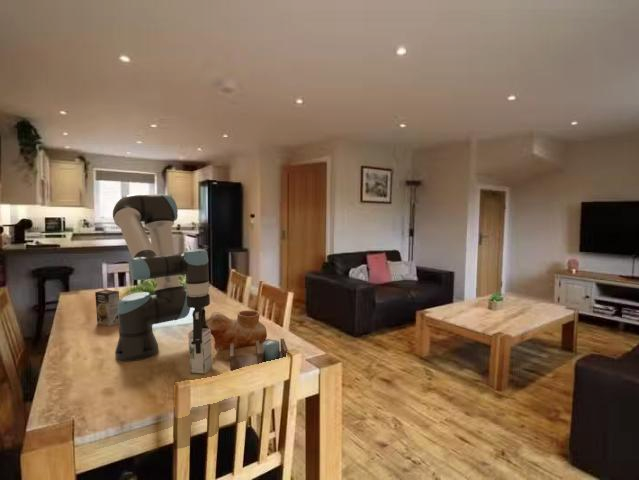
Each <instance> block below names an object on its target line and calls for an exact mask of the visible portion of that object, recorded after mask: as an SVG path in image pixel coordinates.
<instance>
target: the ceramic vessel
mask: <svg viewBox="0 0 639 480" xmlns="http://www.w3.org/2000/svg"><path fill="white" fill-rule="evenodd" d="M236 315H237V318H235V319H232V318H229V317H228V316H226V315H225V314H223V313H222V312H220V311H213V312H212V313H211V314H210V316H209V317H208V318H205V319H206V325H208V328H206V329H211V336H213V339H214V340H213V341H214V344H213V345H214V350H215V351H218V350H220V351H224V350H230V343H234V350H235V349H239V348H244V347H253V346H256V341H259V344H261V343H263V342H265V341H266V339H267V337H268V333H267V332H268V331H267V327H265V325H264V324H263V323H262V322H260V320H259V319H260V315H261V314H260V311H257V310H248V309H247V310H246V309H245V310H241V311H238V312H237V314H236Z"/></svg>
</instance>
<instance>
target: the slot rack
mask: <svg viewBox="0 0 639 480" xmlns="http://www.w3.org/2000/svg"><path fill="white" fill-rule="evenodd" d="M287 351H288V352H289V349H288V347H287V344H286V341H285V339H284V338H280V358H283V357H286V353H287ZM262 362H266V361H264V360H263V352H262V350H261V343H259V341H256V345H255V353H250V354H243V355H242V354H241V355H235V349H234V343H230V349H229V365H230V368H229V369H230V371H236V370H235V369H239V368H242V367H245V366H250V365H254V364H259V363H262ZM239 370H240V369H239Z"/></svg>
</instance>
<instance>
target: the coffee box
mask: <svg viewBox="0 0 639 480" xmlns="http://www.w3.org/2000/svg"><path fill="white" fill-rule="evenodd" d="M94 295H95V297H94V298H95V308H96V323H97V324H98V325H103V326H109V327H110V326H113V325H117V324H119V321H118V313H117V311H118V302H119V300H120V291H119V290H110V289H104V290H99V291H95V292H94Z"/></svg>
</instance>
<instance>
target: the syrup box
mask: <svg viewBox="0 0 639 480" xmlns="http://www.w3.org/2000/svg"><path fill="white" fill-rule="evenodd" d="M187 337H188V351H189V352H188V353H189V356H188V357H189V372H190V374H195V375H197V374H198V375H206V374H207V373H208V372H210V370H211V369H212V368H213V357H212V335H211V329H202V342H203V360H204V361H203V362H199V363H195V358H194V344H191V342H193V329H192V330H191V331H190V332H189V333H188V334H187ZM196 340H199V339H196Z"/></svg>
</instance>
